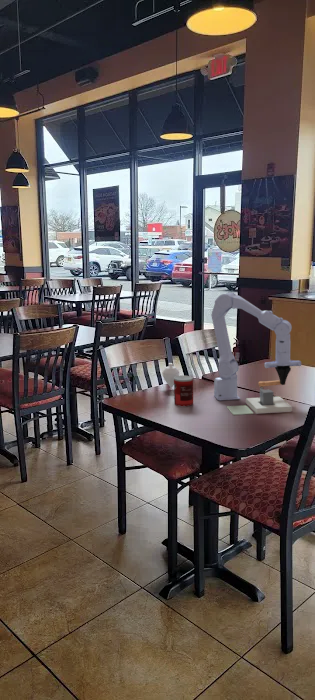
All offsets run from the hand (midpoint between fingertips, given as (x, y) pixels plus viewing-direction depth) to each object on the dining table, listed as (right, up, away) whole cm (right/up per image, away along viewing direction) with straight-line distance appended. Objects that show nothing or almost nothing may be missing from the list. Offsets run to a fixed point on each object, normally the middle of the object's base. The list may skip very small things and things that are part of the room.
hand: (282, 384), depth 207 cm
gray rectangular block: (-7, -9, -5) cm, 13 cm away
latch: (-4, 0, +1) cm, 4 cm away
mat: (-18, -10, -7) cm, 22 cm away
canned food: (-40, -8, +4) cm, 41 cm away
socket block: (-8, -9, -4) cm, 12 cm away
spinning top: (-44, -4, +26) cm, 51 cm away
